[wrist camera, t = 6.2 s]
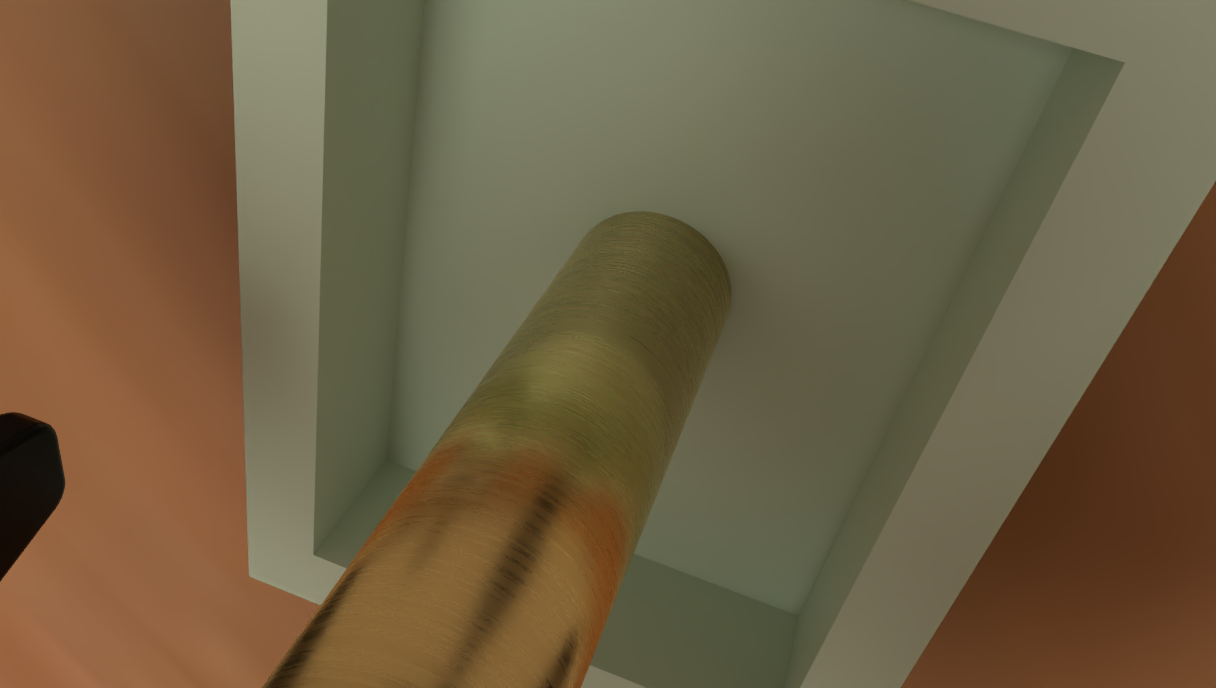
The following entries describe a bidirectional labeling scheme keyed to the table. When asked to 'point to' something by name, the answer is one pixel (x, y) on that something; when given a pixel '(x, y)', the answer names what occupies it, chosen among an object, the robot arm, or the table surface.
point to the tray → (755, 261)
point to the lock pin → (533, 482)
